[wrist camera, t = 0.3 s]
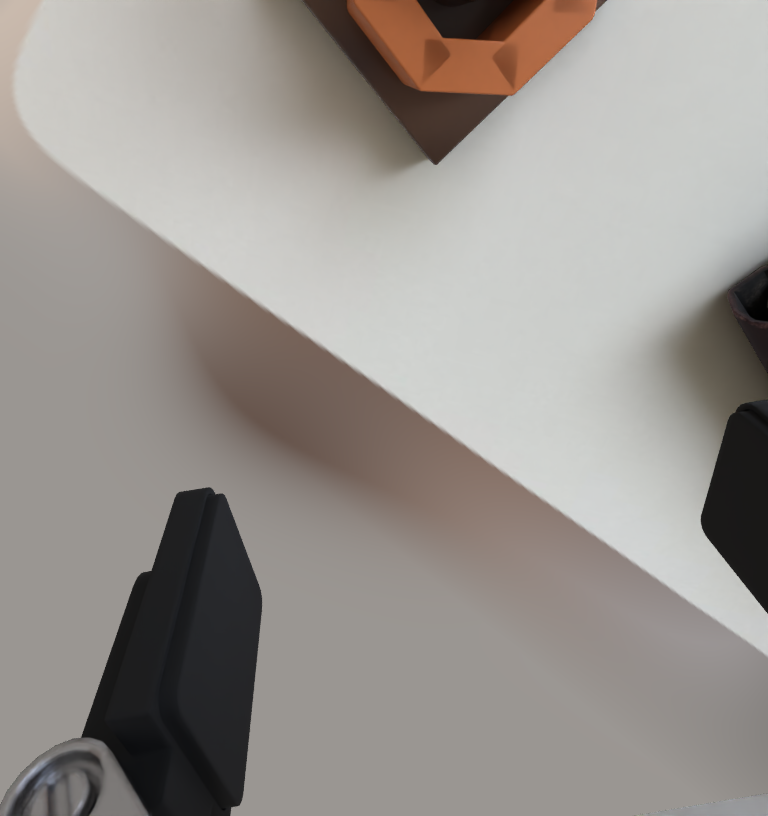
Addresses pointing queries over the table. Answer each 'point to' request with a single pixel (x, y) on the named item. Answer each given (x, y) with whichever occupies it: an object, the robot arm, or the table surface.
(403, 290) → the table surface
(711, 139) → the table surface
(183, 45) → the table surface
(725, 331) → the table surface
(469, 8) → the stand
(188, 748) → the robot arm
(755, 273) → the diary
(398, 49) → the ring
